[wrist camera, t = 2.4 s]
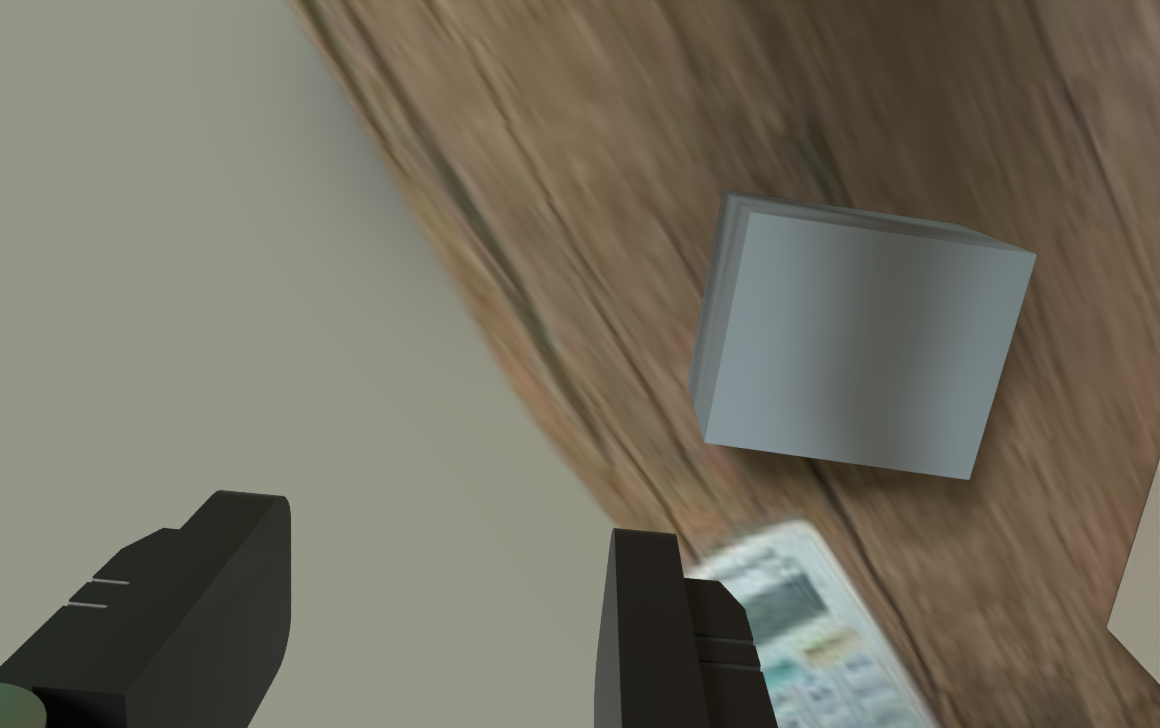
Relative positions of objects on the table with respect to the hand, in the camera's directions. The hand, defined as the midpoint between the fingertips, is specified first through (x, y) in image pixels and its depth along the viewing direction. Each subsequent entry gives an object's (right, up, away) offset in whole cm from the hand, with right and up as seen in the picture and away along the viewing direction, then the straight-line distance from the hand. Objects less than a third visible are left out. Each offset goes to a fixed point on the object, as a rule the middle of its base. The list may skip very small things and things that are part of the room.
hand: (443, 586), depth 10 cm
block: (+9, +4, +17) cm, 19 cm away
